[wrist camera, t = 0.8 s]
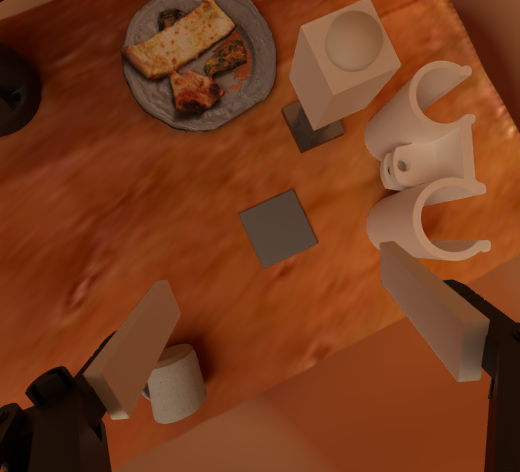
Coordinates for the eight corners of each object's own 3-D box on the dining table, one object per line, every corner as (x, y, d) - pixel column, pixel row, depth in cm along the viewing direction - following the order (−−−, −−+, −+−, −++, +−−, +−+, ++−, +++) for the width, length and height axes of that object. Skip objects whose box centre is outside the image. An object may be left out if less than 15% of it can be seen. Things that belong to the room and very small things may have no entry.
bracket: (358, 113, 43) (400, 61, 30) (413, 111, 43) (476, 59, 31) (368, 257, 42) (415, 263, 30) (423, 254, 42) (492, 258, 30)
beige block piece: (288, 77, 33) (302, 17, 24) (341, 55, 34) (373, -14, 25) (313, 130, 33) (336, 89, 24) (366, 107, 34) (407, 58, 25)
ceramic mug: (197, 335, 40) (184, 357, 33) (211, 383, 40) (201, 417, 33) (135, 354, 40) (106, 380, 32) (148, 402, 40) (123, 441, 32)
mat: (238, 214, 41) (238, 214, 41) (292, 189, 42) (292, 189, 41) (263, 268, 41) (263, 268, 41) (317, 243, 41) (318, 243, 41)
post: (281, 111, 42) (292, 64, 31) (323, 92, 42) (348, 40, 31) (301, 153, 42) (318, 121, 31) (342, 134, 42) (375, 96, 31)
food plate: (175, 160, 41) (169, 151, 37) (100, 45, 41) (87, 26, 38) (298, 84, 43) (303, 70, 39) (225, -25, 43) (223, -49, 40)
